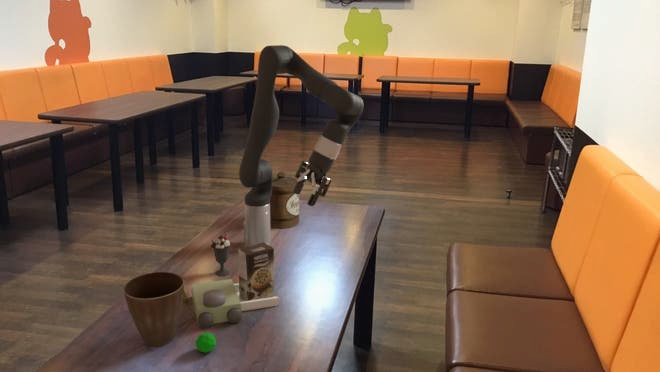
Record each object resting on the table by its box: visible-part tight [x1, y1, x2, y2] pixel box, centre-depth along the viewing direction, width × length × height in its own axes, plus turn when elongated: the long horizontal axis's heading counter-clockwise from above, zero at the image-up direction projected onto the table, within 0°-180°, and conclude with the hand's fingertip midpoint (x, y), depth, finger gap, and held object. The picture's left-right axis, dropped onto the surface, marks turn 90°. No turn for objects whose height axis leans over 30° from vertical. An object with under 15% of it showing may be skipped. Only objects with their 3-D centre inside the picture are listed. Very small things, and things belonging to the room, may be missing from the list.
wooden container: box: [270, 171, 300, 229], centre depth 226 cm, size 15×15×22 cm
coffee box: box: [238, 242, 275, 301], centre depth 164 cm, size 9×6×16 cm
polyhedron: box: [195, 331, 217, 354], centre depth 138 cm, size 5×5×5 cm
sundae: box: [210, 229, 232, 277], centre depth 180 cm, size 7×7×15 cm
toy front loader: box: [191, 278, 280, 329], centre depth 160 cm, size 19×24×7 cm
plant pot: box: [122, 271, 185, 347], centre depth 141 cm, size 15×15×16 cm
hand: (302, 199), depth 169 cm, fingers open, 8 cm apart
